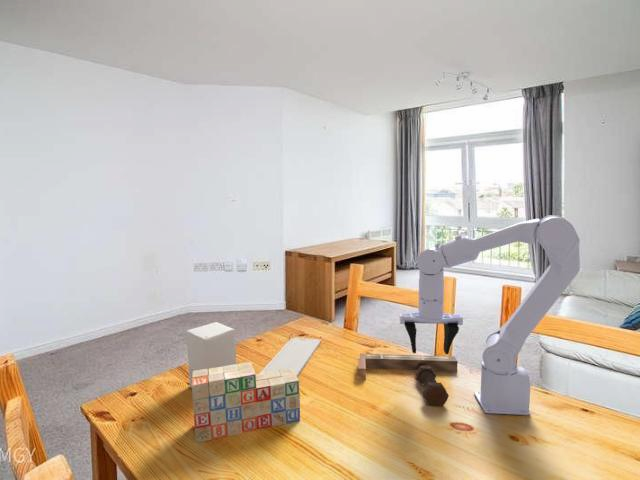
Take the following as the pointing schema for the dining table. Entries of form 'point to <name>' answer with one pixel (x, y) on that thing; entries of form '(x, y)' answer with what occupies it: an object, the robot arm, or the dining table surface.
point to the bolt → (431, 386)
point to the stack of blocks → (242, 400)
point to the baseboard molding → (293, 355)
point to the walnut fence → (404, 362)
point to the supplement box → (210, 347)
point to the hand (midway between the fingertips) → (429, 351)
